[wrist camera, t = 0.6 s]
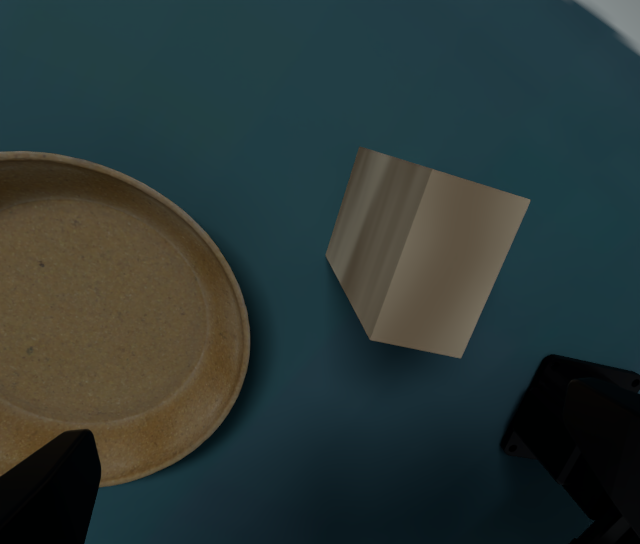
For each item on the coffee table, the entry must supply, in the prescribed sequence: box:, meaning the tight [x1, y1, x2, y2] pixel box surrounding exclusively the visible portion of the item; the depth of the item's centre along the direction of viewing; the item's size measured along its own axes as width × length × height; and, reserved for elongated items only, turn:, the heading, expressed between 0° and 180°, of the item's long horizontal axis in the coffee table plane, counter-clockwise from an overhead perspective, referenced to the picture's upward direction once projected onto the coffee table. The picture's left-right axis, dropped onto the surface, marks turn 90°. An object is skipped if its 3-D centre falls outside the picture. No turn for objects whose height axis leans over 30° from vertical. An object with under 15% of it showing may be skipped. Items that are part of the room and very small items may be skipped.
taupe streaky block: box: [325, 147, 531, 358], centre depth 16 cm, size 3×5×8 cm, turn 164°
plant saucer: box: [0, 151, 250, 487], centre depth 18 cm, size 15×15×3 cm
